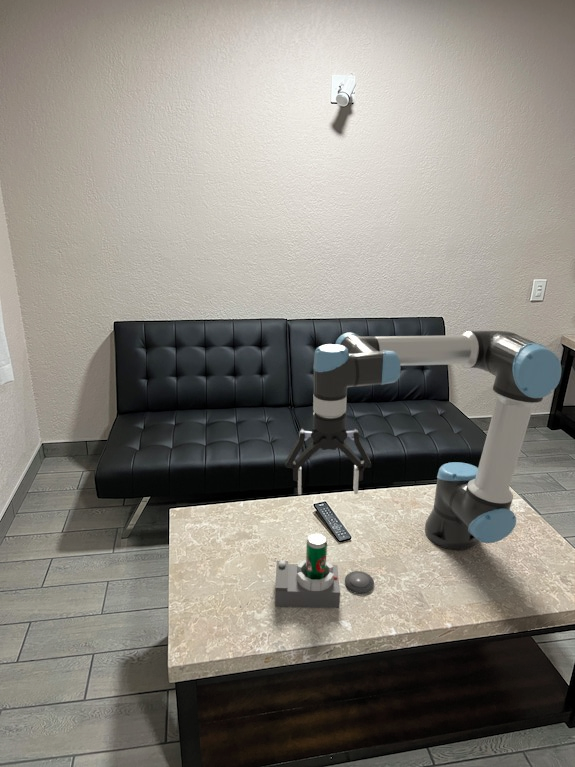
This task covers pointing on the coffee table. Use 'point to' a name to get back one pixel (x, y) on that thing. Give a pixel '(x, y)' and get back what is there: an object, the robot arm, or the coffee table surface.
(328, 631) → the coffee table surface
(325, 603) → the camera body
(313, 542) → the soda can
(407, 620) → the coffee table surface
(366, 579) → the lens cap
